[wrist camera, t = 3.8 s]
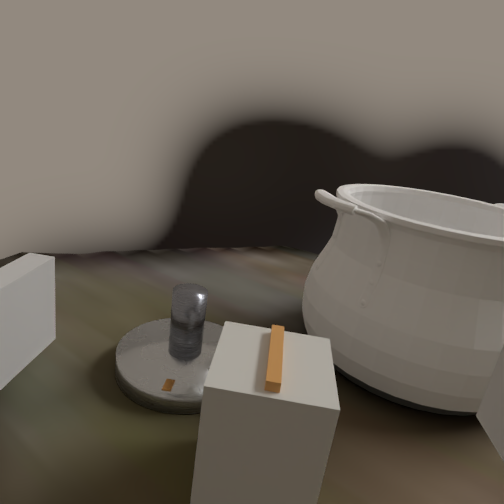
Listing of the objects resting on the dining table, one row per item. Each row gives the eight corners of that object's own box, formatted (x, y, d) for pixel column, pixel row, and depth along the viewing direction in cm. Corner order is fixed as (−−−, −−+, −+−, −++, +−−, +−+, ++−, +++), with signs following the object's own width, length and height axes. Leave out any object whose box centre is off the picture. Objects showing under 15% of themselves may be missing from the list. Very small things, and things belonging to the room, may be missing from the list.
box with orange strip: (210, 438, 31) (226, 313, 28) (303, 455, 31) (331, 330, 27) (187, 526, 25) (204, 376, 21) (305, 549, 24) (342, 400, 21)
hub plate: (142, 326, 45) (146, 256, 42) (253, 345, 44) (263, 276, 42) (90, 399, 33) (91, 310, 31) (238, 426, 33) (252, 338, 30)
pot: (359, 462, 31) (422, 242, 25) (249, 307, 52) (269, 169, 47) (597, 410, 42) (679, 246, 36) (424, 299, 63) (458, 185, 57)
